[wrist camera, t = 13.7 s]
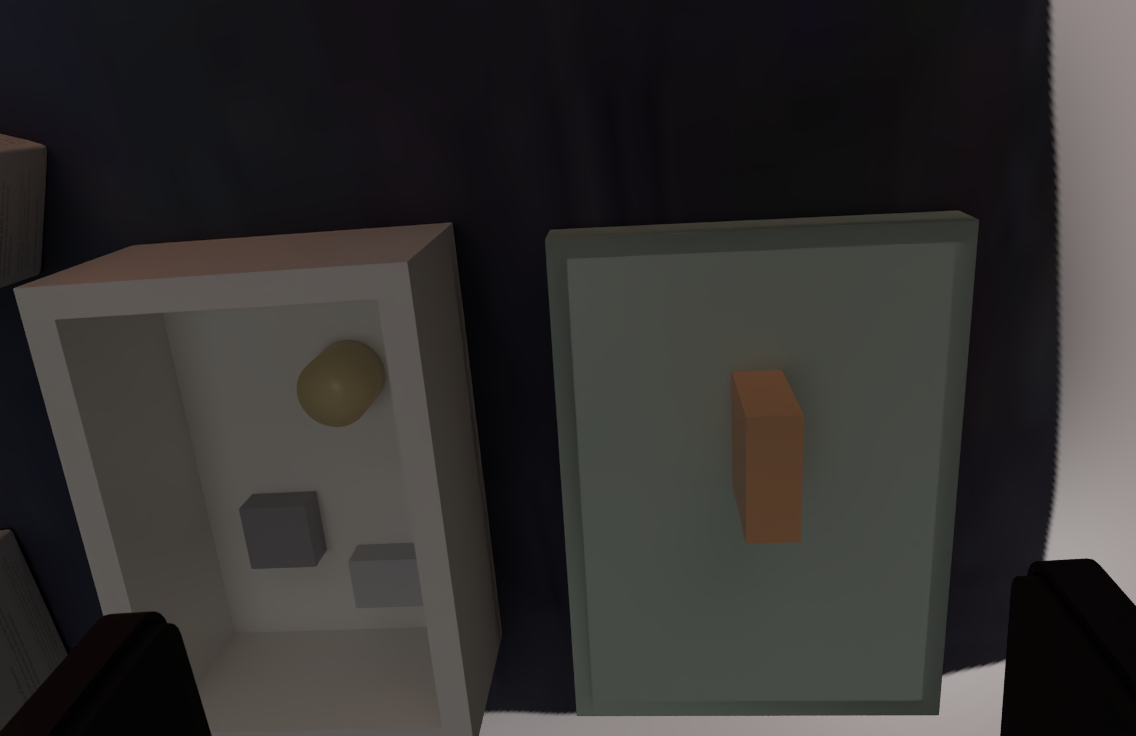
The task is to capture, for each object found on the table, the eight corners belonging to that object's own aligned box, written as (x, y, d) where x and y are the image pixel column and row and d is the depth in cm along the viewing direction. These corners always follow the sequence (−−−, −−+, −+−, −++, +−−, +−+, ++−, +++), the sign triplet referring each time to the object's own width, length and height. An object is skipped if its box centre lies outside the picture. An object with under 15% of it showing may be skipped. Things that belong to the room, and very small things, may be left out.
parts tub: (132, 245, 39) (13, 288, 32) (452, 222, 38) (407, 261, 30) (224, 642, 46) (142, 757, 38) (502, 634, 44) (474, 752, 37)
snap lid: (550, 229, 38) (531, 266, 31) (958, 210, 36) (1034, 244, 30) (579, 684, 45) (569, 797, 38) (923, 682, 43) (978, 799, 37)
